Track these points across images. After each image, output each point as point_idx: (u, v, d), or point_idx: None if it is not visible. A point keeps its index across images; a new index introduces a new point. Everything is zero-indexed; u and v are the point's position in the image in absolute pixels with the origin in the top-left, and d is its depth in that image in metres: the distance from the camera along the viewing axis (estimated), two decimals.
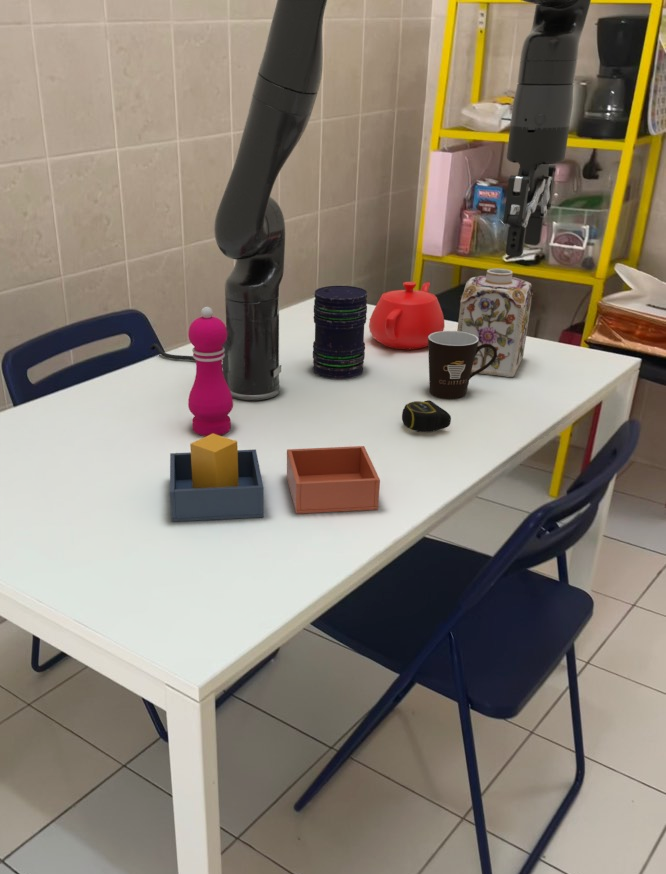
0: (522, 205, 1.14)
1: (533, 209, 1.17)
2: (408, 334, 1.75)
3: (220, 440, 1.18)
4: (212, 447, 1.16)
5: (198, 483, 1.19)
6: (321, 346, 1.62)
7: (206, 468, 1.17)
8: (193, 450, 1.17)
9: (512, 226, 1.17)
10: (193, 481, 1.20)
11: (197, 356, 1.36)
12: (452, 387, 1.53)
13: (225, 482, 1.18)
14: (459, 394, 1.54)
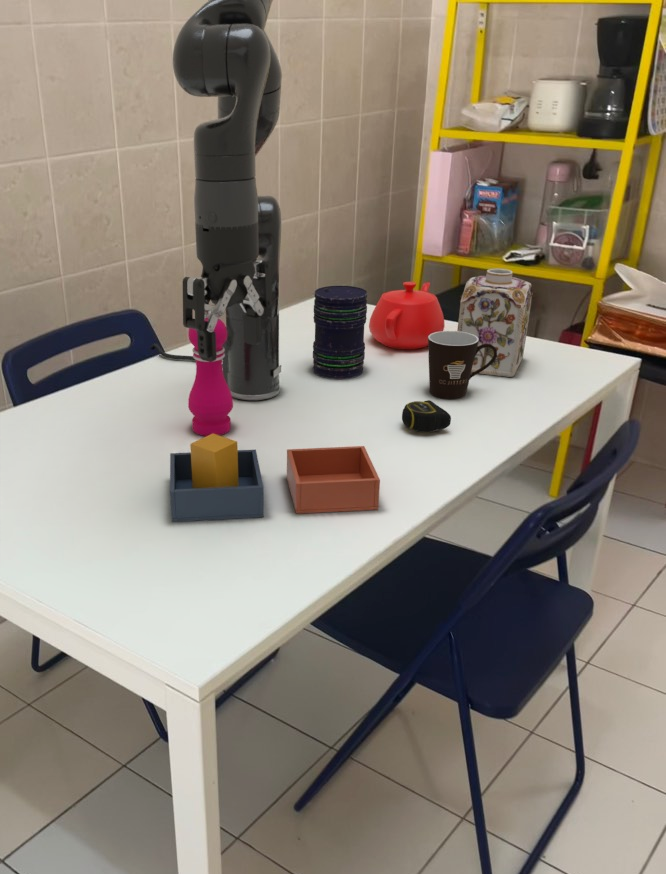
0: (196, 310, 1.03)
1: (220, 313, 1.06)
2: (408, 334, 1.75)
3: (220, 440, 1.18)
4: (212, 447, 1.16)
5: (198, 483, 1.19)
6: (321, 346, 1.62)
7: (206, 468, 1.17)
8: (193, 450, 1.17)
9: (197, 330, 1.06)
10: (193, 481, 1.20)
11: (197, 356, 1.36)
12: (452, 387, 1.53)
13: (225, 482, 1.18)
14: (459, 394, 1.54)
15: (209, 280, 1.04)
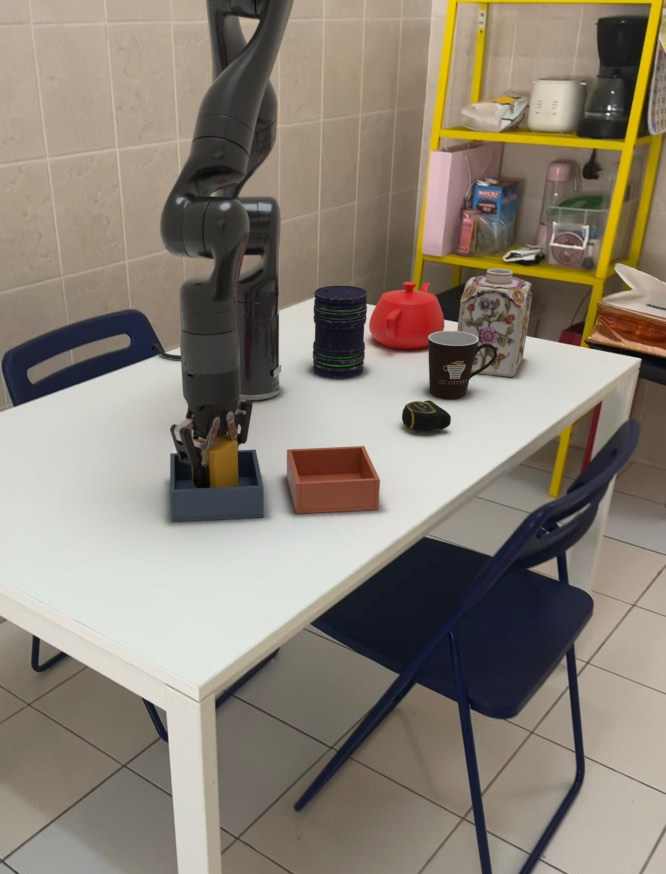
0: (188, 453, 1.13)
1: (210, 449, 1.15)
2: (408, 334, 1.75)
3: (220, 440, 1.18)
4: None
5: None
6: (321, 346, 1.62)
7: None
8: None
9: None
10: None
11: None
12: (452, 387, 1.53)
13: (225, 482, 1.18)
14: (459, 394, 1.54)
15: (194, 419, 1.12)
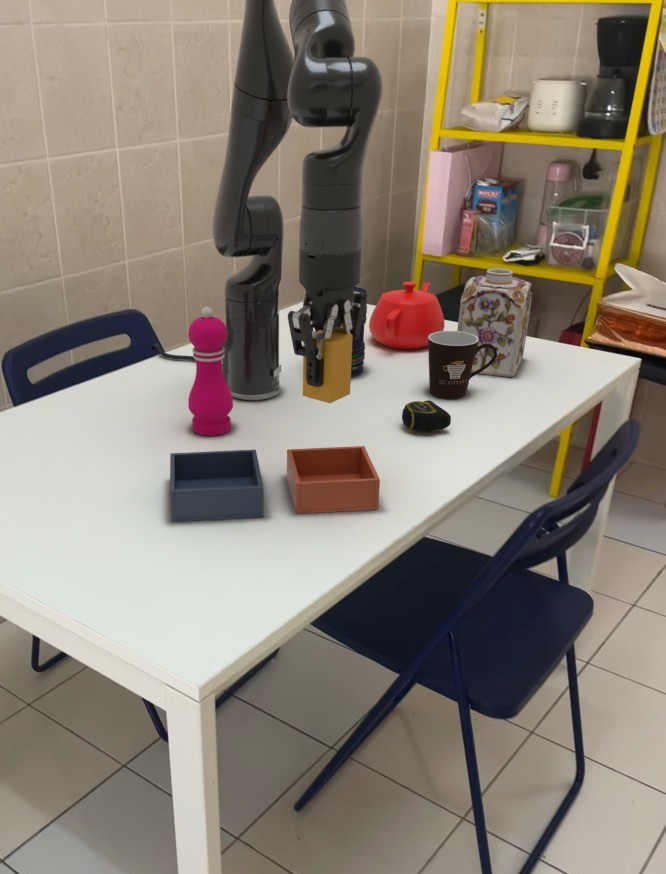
0: (306, 342, 1.07)
1: (327, 339, 1.09)
2: (408, 334, 1.75)
3: (334, 333, 1.12)
4: None
5: None
6: None
7: None
8: None
9: (307, 357, 1.10)
10: (304, 378, 1.14)
11: (197, 356, 1.36)
12: (452, 387, 1.53)
13: (339, 378, 1.13)
14: (459, 394, 1.54)
15: (312, 305, 1.06)
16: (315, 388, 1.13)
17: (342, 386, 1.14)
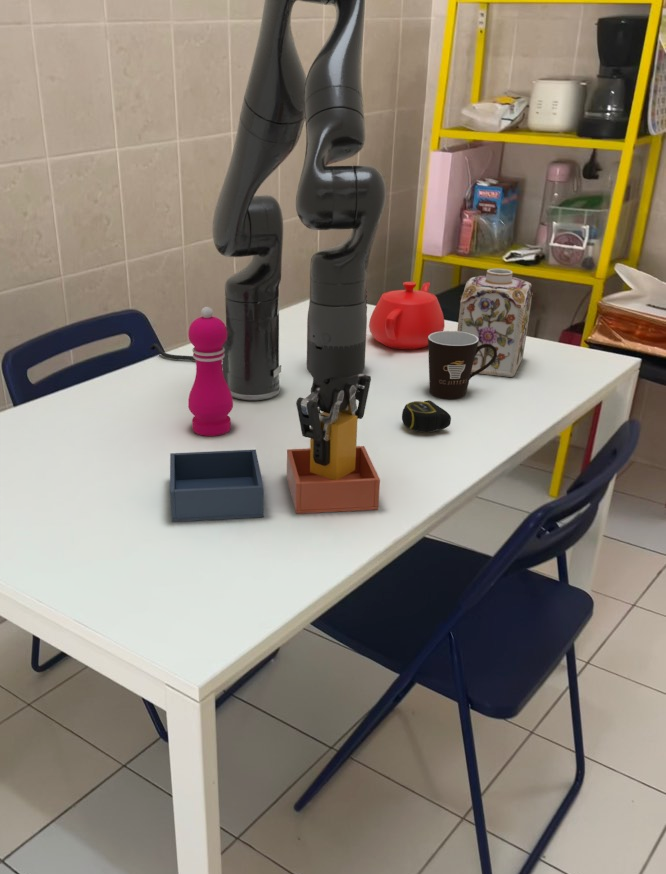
0: (313, 427, 1.12)
1: (333, 422, 1.14)
2: (408, 334, 1.75)
3: (340, 415, 1.18)
4: None
5: None
6: None
7: None
8: None
9: (314, 438, 1.16)
10: (311, 456, 1.20)
11: (197, 356, 1.36)
12: (452, 387, 1.53)
13: (345, 457, 1.18)
14: (459, 394, 1.54)
15: (320, 392, 1.12)
16: (322, 466, 1.19)
17: (348, 464, 1.19)
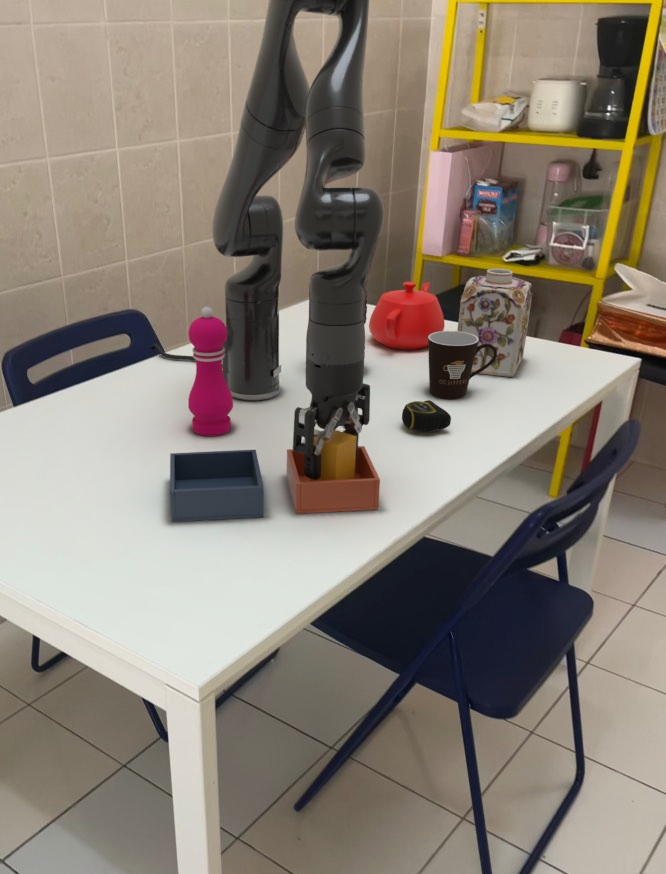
0: (307, 438, 1.12)
1: (326, 438, 1.15)
2: (408, 334, 1.75)
3: (339, 435, 1.19)
4: (333, 441, 1.17)
5: None
6: None
7: (326, 463, 1.18)
8: None
9: None
10: None
11: (197, 356, 1.36)
12: (452, 387, 1.53)
13: (344, 476, 1.20)
14: (459, 394, 1.54)
15: (318, 410, 1.13)
16: None
17: None
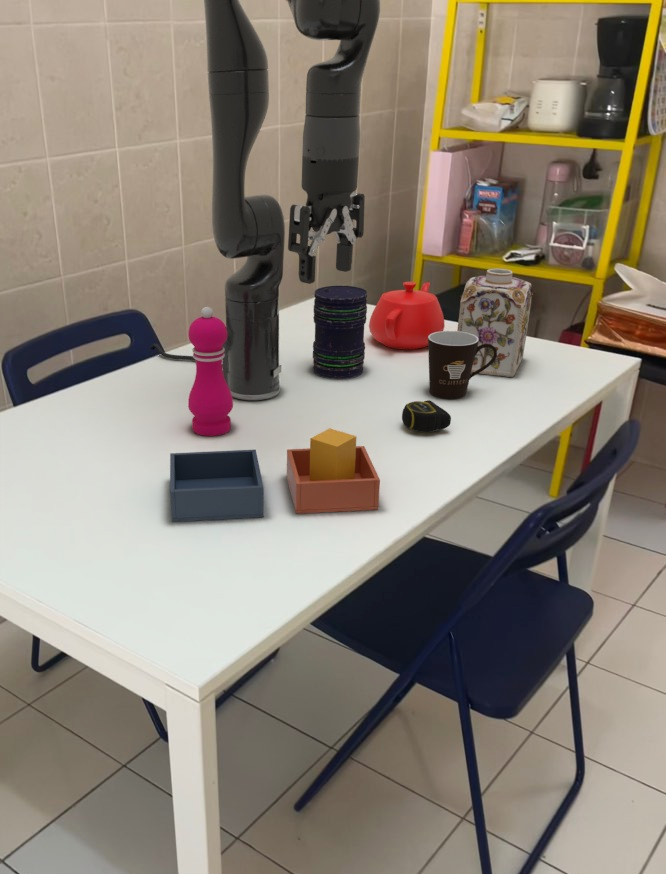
0: (302, 234, 1.16)
1: (321, 238, 1.18)
2: (408, 334, 1.75)
3: (339, 435, 1.19)
4: (333, 441, 1.17)
5: (315, 477, 1.20)
6: (321, 346, 1.62)
7: (326, 463, 1.18)
8: (313, 445, 1.18)
9: (300, 254, 1.19)
10: (310, 475, 1.21)
11: (197, 356, 1.36)
12: (452, 387, 1.53)
13: (344, 476, 1.20)
14: (459, 394, 1.54)
15: (313, 208, 1.16)
16: None
17: None
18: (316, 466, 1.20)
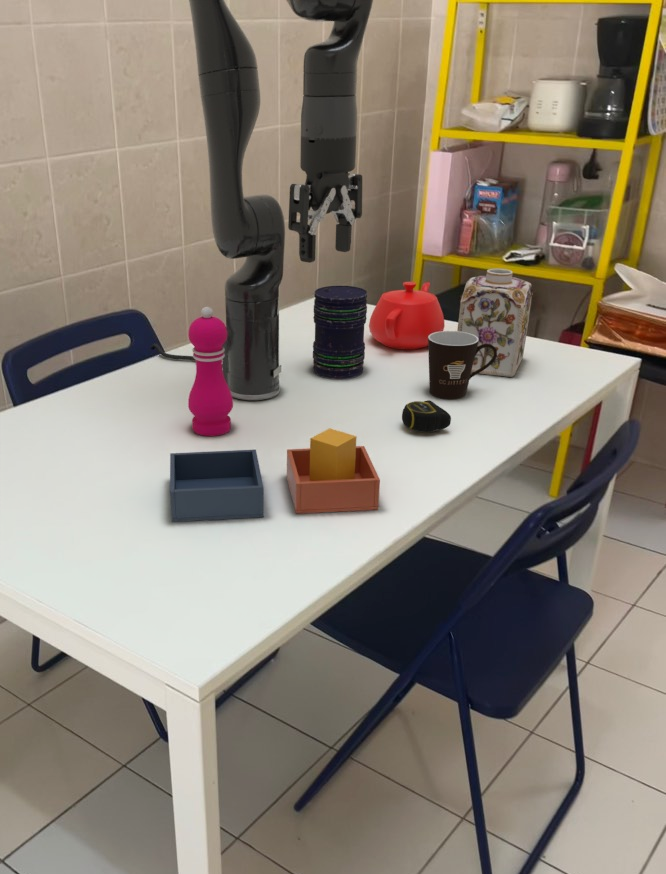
0: (301, 213, 1.17)
1: (320, 217, 1.20)
2: (408, 334, 1.75)
3: (339, 435, 1.19)
4: (333, 441, 1.17)
5: (315, 477, 1.20)
6: (321, 346, 1.62)
7: (326, 463, 1.18)
8: (313, 445, 1.18)
9: (300, 233, 1.21)
10: (310, 475, 1.21)
11: (197, 356, 1.36)
12: (452, 387, 1.53)
13: (344, 476, 1.20)
14: (459, 394, 1.54)
15: (312, 187, 1.18)
16: None
17: None
18: (316, 466, 1.20)
